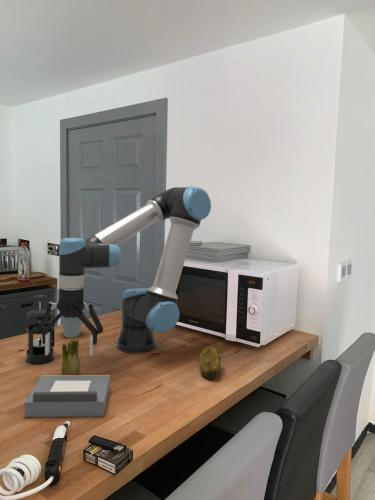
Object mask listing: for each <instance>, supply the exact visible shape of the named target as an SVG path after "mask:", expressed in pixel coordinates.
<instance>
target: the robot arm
mask: <svg viewBox="0 0 375 500" xmlns="http://www.w3.org/2000/svg"><path fill="white" fill-rule="evenodd" d="M146 201H147V202H146V204H145V205H143V206H142V207H139V208H138V209H137V210H134V211H133V212H131V213H130V214H129V213H128V215H126V216H124V217H122V218H121V219H119V220H118V221H116V222H114V223H112V224H110V225H109V226H107V227H105V228H103V229H102V230H100V231H98V232H97V233H95V234H93V235H91V236H89V237H87V238H86V239H84V238H79V237H64V238H62V239H61V240H60V242H59V252H58V255H59V257H58V258H59V259H58V260H59V261H58V265H59V266H58V267H59V268H58V269H59V272H58V287H59V288H58V295H57V297H58V298H57V299H58V300H57V303H56V302H54V301H50V302H48V303H47V306H46V310H47V311H46V312H45V314H44V316H43V318H42V320H41V321H39V322H38V323H39V325H38V327H36V328H35V330H36V332H40V333H42V334H41V338H42V343H43V344H45V355H48V354H49V352H50V332H47V331H48V330H49V329H50V328H51V327H52V326H53V325H54V324H55V325H56V323H57V322H58V321H59V320H60V319H62V318H61V316H63V317H65V318H69V317H71V318H75V317H78V318H79V319H80V320H81V321H82V324H83V325H84V326H85V327H86V328H87V329H88V331H89V332H90V334H89V335H90V336H89V357H93V355H94V346H96V345H97V343H98V335H99V334H103V332H104V327H103V325H102V323H101V321H100V319H99V317H98V315H97V312H96V311H95V305H94V302H90V303H86V304H84V302H85V301H84V295H85V294H84V291H85V290H84V286H85V269H97V268H98V269H99V268H100V269H101V268H102V269H104V268H108V269H110V268H116V267H118V266H119V265H120V263H121V261H122V253H121V251H122V250H121V248H120V247H119V245H120V244H122V243H124V242H125V241H127V240H129V239H130V238H132V237H134V236H135V235H137V234H138V233H141V231H143V230H145V229H147V228H148V227H150V226H151V225H153V224H155V223H161V222H163V221H165V220H168V219H169V221H170V223H171V225H170V228H169V231H168V234H167V238H166V241H165V244H164V248H163V251H162V255H161V258H160V261H159V265H158V267H157V271H156V275H155V278H154V280H153V281H154V282H153V284H152V286H151V287H149V288H148V287H139V288H128V289H125V290H124V291H122V292H123V293H122V299H121V301H122V303H121V304H122V305H121V307H122V310H121V311H122V314H121V315H122V316H121V322H122V323H121V329H120V332H119V334H118V338H117V341H116V347H117V349H118V350H119V351H121V352H125V353H130V354H142V353H147V352H151V351H153V350H155V349H156V345H157V339H156V337H155V333H154V332H156V333H159V334H163V333H168V332H169V331H170V330H173V328H175V326H176V325H177V323H178V322H179V319H180V314H181V313H180V310H179V307H178V305H177V304H178V299H179V297H178V295H177V294H176V291H177V289H178V285H179V281H180V278H181V275H182V271H183V267H184V264H185V262H186V257H187V255H188V251H189V248H190V244H191V241H192V237H193V234H194V231H195V230H197V229H198V228H199V227H200V225H201V221H202V220H205V219H206V218H207V217H208V216H209V215H210V212H211V209H212V201H211V198H210V196H209V194H208V192H207V191H206V190H204V189H203V188H201V187H199V186H198V187H196V186H186V187H185V186H183V187H180V186H179V187H178V186H177V187H172V188H169V189H166V190H164V191H162V192H160V193H158V194H157V195H155V196H153V197H152V198H150V199H149V200H146ZM83 301H84V302H83ZM84 308H85V309H86V311H88V313H89V315H90V318H91V319H92V321H93V323H94V324H93V323H92V322H91V321H90V320H89V318H88V317H87V316H86V315H85V312H84V313H83V312H82V310H83V309H84ZM55 309H57V310H58V312H59V313H58V314H57V315H55V317H54V318H52V319H51V320H50V322H48V323H49V324H48V325H47V327H45V326H44V324H45V323H47V321H46V320H47V318H48V317H49V315H50V313H51V311H54V310H55ZM85 309H84V310H85ZM94 325H95V326H94Z"/></svg>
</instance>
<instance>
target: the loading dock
mask: <svg viewBox="0 0 375 500" xmlns="http://www.w3.org/2000/svg"><path fill="white" fill-rule="evenodd" d="M110 388H111V374H90V375H89V374H88V375H87V374H85V375H83V374H82V375H81V374H79V375H62V374H60V375H59V374H58V375H57V374H55V375H53V374H51V375H50V374H48V375H47V374H44V375H41V376H40V378H39V379H38V380H37V382H36V383H35V385H34V387H33V388H32V390H31V392H30V393H29V395H28V397H27V398H26V400H25V401H24V418H55V417H56V418H61V417H63V418H65V417H66V418H67V417H68V418H69V417H71V418H73V417H74V418H75V417H76V418H77V417H81V418H82V417H104V416H105V412H106V407H107V402H108V397H109V393H110Z"/></svg>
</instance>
